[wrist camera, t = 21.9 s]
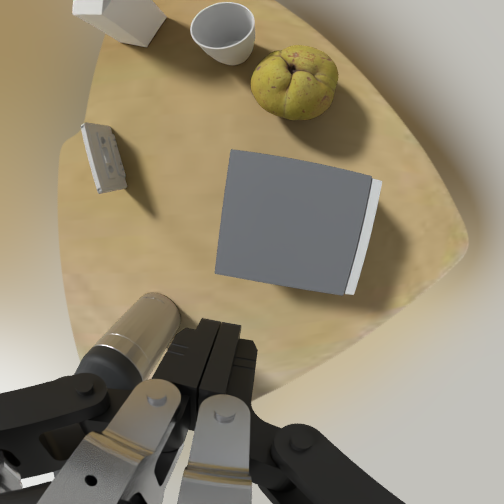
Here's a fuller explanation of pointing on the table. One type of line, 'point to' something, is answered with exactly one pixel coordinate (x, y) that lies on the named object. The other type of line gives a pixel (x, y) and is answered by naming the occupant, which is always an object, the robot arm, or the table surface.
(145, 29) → the milk carton
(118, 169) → the cassette
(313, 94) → the fruit
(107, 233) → the table surface
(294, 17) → the table surface
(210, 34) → the cup
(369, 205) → the grey flat-panelled piece
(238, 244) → the grey open box
